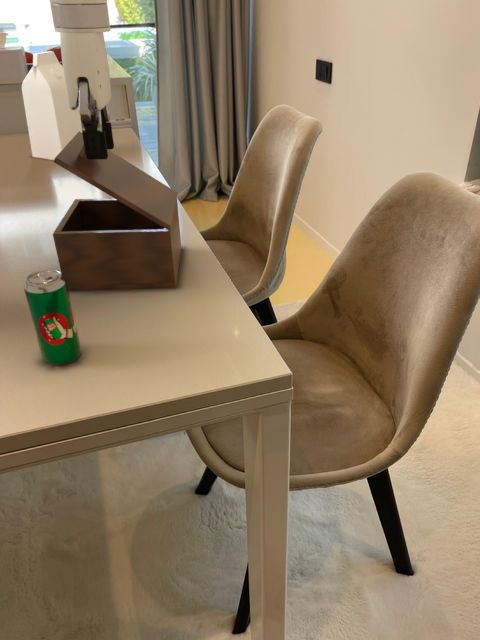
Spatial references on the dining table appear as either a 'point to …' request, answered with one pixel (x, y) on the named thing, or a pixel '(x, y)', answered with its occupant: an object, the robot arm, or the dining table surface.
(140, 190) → the lid
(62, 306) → the soda can
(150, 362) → the dining table surface
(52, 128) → the milk
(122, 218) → the brown wooden box
